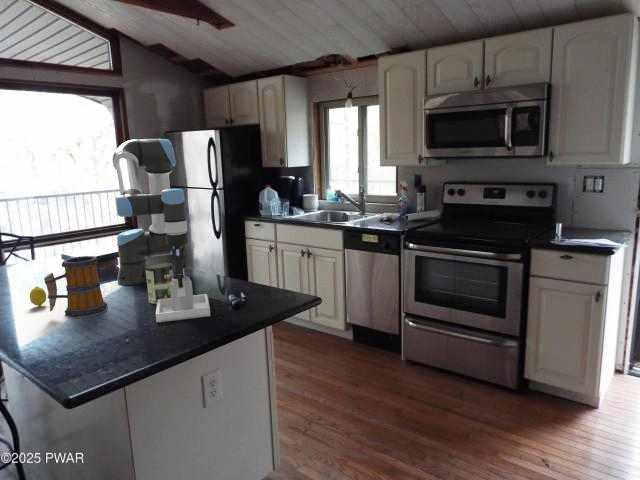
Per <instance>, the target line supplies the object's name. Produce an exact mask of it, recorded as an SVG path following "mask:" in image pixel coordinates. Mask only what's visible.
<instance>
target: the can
mask: <svg viewBox="0 0 640 480" xmlns="http://www.w3.org/2000/svg"><path fill="white" fill-rule="evenodd" d="M184 283H185V294H186V296H181V297H178V296H177V285H176V279H174V278H172V281H171V283H170V288H171V299H172V309H173V310H175V311H180V310H189V309H192V308H193V307H194V303H193V295H194V294H193V291H194V290H193V281H192V280H191V279H190V277H189V276H187V275H184Z"/></svg>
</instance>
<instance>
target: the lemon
mask: <svg viewBox="0 0 640 480" xmlns="http://www.w3.org/2000/svg"><path fill="white" fill-rule="evenodd" d="M29 300H30V303H31V304H33V305H34V306H37V307H41V306H42V305H43V304H44V303H45V302H46V301H47V292H46V291H45V289H44V288H42V287H40V286H35V287H33V289H31V290H30V293H29Z"/></svg>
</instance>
